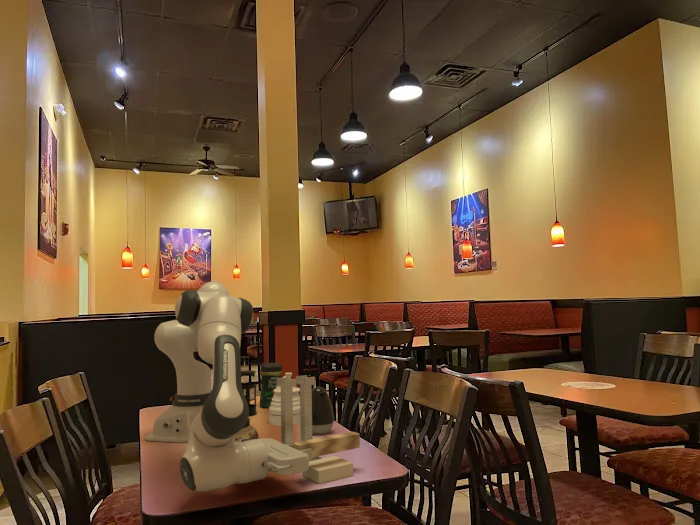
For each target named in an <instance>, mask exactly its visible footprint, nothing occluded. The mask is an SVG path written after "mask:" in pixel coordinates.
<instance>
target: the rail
mask: <svg viewBox="0 0 700 525" xmlns="http://www.w3.org/2000/svg"><path fill="white" fill-rule="evenodd" d="M360 434H361V433H358V432H355V431H350V432H344V433H339V434H334V435H329V436H324V437H318V438H312V439H311V440H306V441H301V440H300V441H297V442H293V448H295V449H297V450H300V451H301V450H303V448H311V449H312V456H310V457H309V458H313V457H323V456H326V455H327V456H328V455H332V454H336V453H337V454H338V453H340V452H345V451H349V450H355V449H360V448H361V441H360V440H361V437H360Z"/></svg>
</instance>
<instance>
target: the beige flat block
mask: <svg viewBox="0 0 700 525" xmlns="http://www.w3.org/2000/svg"><path fill="white" fill-rule="evenodd" d="M301 473H302V476H303V477H305V478H307V479H309V480H311V481H313V482H314V483H316V484H319V485H320V484H324V483H327V482H332V481H337V480H341V479H344V478H347V477H353V476H354V462H352V461H349V460H346V459H344V458H342V457H340V456H337V455H334V456H329V457H325V458H324V457H323V458H322V459H319V460H314V461H310V462H309V469H308V470H307V471H305V472H301Z"/></svg>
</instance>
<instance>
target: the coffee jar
mask: <svg viewBox="0 0 700 525" xmlns="http://www.w3.org/2000/svg"><path fill="white" fill-rule="evenodd" d="M259 375H260V377H261V379H260V380H261V387H260V396H259V406H260V407H261V408H265V409H269V407H270V406H271V402H272V398H273V396H274V392H273V390H274V389H276V387H277V378H282V376H283V367H282V363H280V362H267V363H261V364H260V369H259Z"/></svg>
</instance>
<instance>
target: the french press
mask: <svg viewBox="0 0 700 525" xmlns="http://www.w3.org/2000/svg"><path fill="white" fill-rule="evenodd" d="M240 358H241V359H243V370H242V369H241V378H242V377H244V378H243V381H244V382H241V384H242V390H243V393H244V396H245V398H246V401H247V404H248V408H249V417H254V416H256V415H257V383H256V382H246V377H253V378H255V376H256V372H257V371H256V370H249V369H248V370H246V361H247V360H246V359H250V358H251V357H250V356H247V355H246V356H245V355H243V356H240ZM251 389H253V390H254V392H253V394H254V396H251ZM252 401H254V404H253V403H251V402H252Z"/></svg>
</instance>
